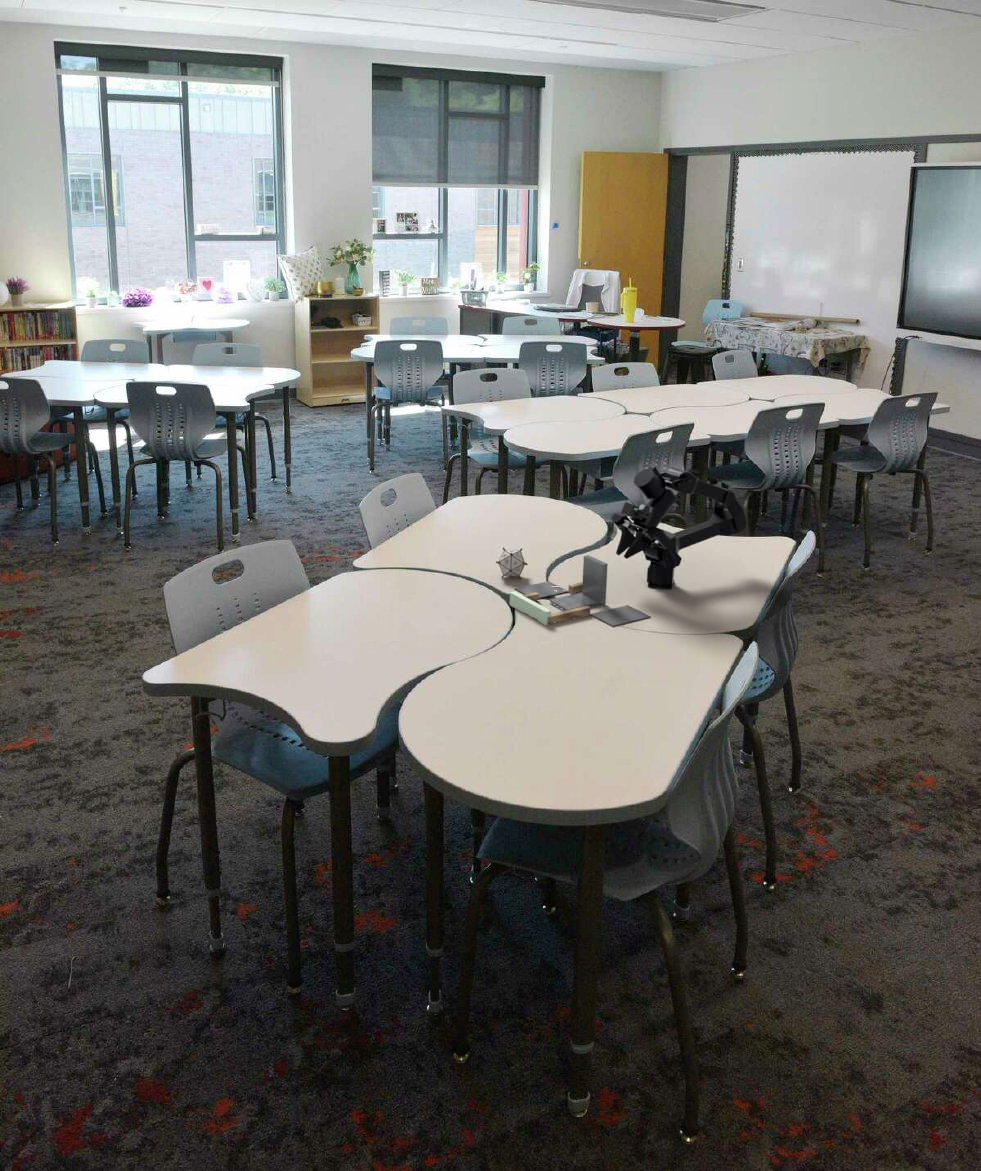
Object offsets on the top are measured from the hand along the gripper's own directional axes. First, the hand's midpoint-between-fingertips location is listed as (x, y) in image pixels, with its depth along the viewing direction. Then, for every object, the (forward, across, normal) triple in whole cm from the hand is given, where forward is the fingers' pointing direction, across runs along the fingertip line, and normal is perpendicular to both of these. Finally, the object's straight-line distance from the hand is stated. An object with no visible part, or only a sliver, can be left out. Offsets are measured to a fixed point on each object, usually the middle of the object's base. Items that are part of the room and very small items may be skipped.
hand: (621, 556), depth 280 cm
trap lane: (+19, 0, -4) cm, 19 cm away
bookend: (+17, 0, -2) cm, 17 cm away
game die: (+20, -26, -4) cm, 33 cm away
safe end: (+27, 0, -13) cm, 30 cm away
